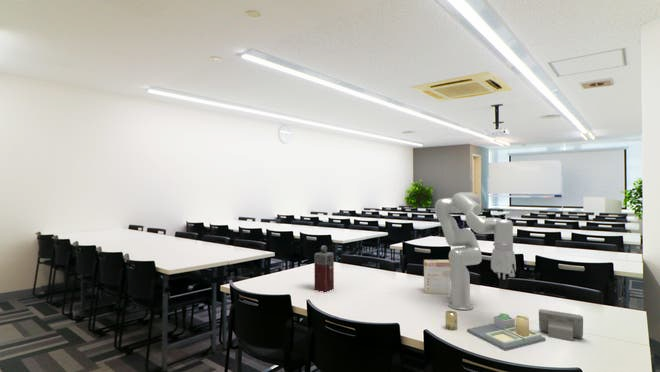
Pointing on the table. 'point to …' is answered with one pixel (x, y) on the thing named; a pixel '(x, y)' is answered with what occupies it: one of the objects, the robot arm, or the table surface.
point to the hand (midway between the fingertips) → (503, 287)
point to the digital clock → (561, 324)
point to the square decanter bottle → (324, 270)
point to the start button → (504, 316)
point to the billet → (451, 320)
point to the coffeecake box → (437, 277)
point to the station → (508, 333)
